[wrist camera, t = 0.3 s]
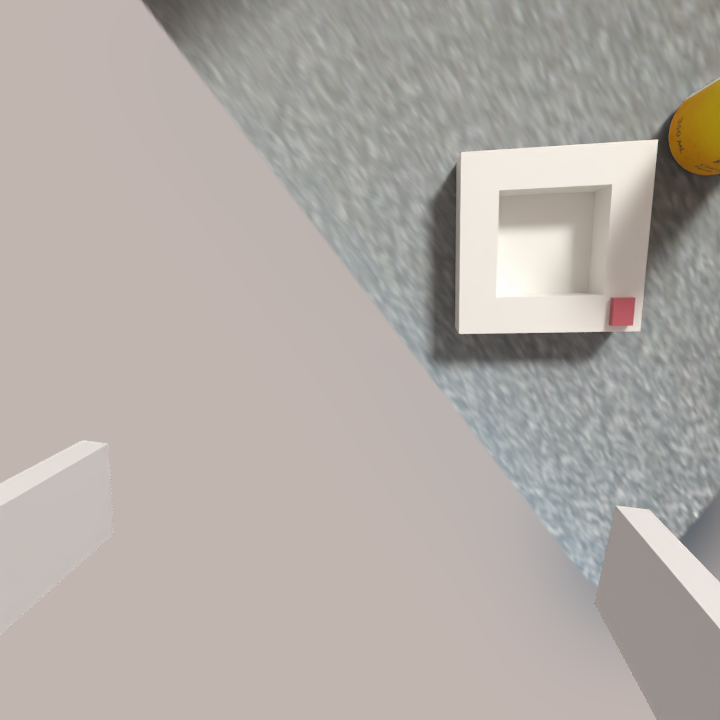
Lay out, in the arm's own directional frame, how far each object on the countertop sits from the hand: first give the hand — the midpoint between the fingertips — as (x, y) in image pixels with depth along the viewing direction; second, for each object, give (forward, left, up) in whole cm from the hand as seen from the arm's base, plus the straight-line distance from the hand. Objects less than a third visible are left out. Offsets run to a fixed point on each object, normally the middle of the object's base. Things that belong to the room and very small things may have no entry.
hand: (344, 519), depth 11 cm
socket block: (-8, +12, -28) cm, 31 cm away
